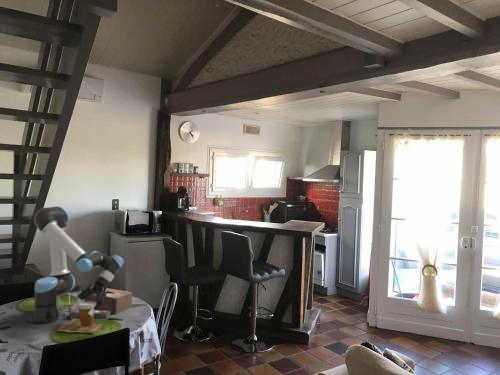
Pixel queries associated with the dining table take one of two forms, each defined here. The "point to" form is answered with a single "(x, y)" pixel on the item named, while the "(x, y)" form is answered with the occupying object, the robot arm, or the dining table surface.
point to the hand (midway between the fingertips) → (81, 312)
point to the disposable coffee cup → (86, 313)
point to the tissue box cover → (114, 301)
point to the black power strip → (97, 315)
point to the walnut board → (74, 326)
